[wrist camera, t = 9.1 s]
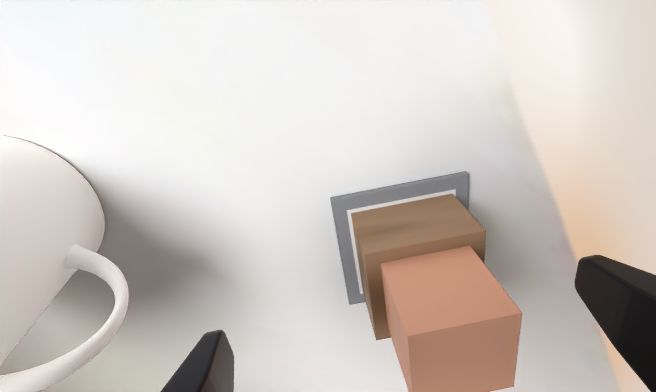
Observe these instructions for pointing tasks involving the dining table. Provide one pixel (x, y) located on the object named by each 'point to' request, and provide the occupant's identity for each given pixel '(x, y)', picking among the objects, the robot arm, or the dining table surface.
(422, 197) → the gray square frame
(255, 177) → the dining table surface
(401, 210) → the base block
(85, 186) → the mug
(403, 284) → the cube
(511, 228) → the dining table surface
